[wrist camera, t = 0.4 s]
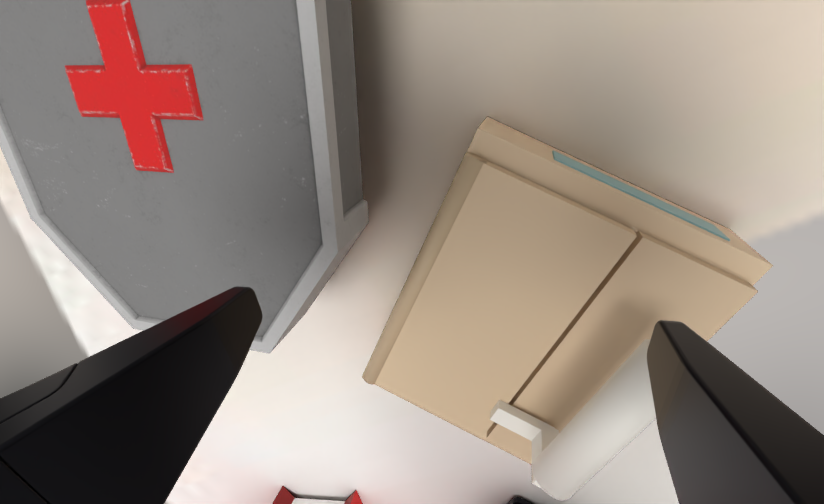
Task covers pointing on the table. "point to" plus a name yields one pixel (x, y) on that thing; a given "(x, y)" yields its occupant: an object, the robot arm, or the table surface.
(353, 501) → the book
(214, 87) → the first aid kit
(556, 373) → the carton
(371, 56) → the table surface
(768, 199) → the table surface
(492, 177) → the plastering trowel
